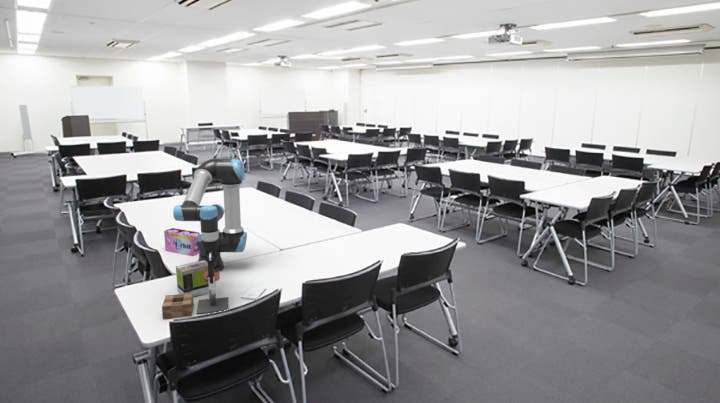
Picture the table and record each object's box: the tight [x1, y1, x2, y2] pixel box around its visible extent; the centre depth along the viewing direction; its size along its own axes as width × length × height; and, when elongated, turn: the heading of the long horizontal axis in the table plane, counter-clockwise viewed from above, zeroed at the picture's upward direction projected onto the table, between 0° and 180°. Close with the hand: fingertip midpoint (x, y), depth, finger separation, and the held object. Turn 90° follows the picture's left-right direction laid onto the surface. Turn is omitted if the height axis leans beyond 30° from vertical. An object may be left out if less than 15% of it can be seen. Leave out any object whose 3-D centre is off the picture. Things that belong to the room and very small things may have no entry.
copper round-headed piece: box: [204, 270, 221, 304], centre depth 200 cm, size 7×7×15 cm
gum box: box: [163, 227, 200, 257], centre depth 272 cm, size 24×8×14 cm, turn 68°
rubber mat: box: [195, 296, 230, 316], centre depth 202 cm, size 14×14×1 cm
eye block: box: [161, 293, 195, 320], centre depth 195 cm, size 12×12×6 cm
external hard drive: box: [240, 286, 267, 301], centre depth 217 cm, size 2×8×12 cm
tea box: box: [175, 260, 209, 298], centre depth 215 cm, size 15×10×15 cm, turn 131°
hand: (212, 285), depth 200 cm, fingers closed on copper round-headed piece, 7 cm apart
